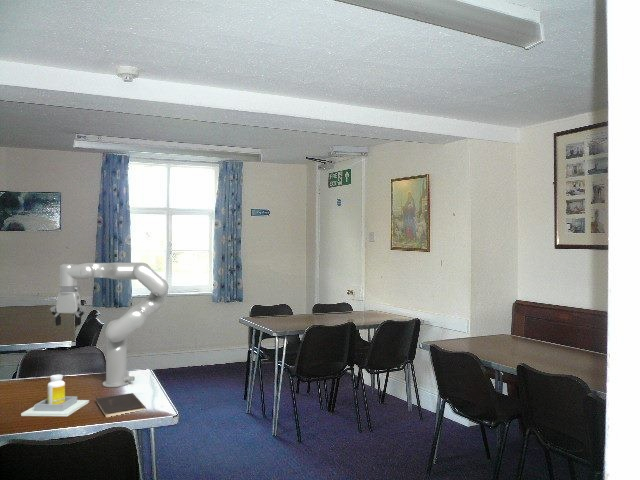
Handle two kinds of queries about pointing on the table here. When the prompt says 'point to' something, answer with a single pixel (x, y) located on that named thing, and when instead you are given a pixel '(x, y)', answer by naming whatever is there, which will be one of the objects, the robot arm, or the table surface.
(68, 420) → the table surface
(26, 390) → the table surface
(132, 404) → the hardcover book
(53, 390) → the supplement bottle
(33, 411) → the holder board
